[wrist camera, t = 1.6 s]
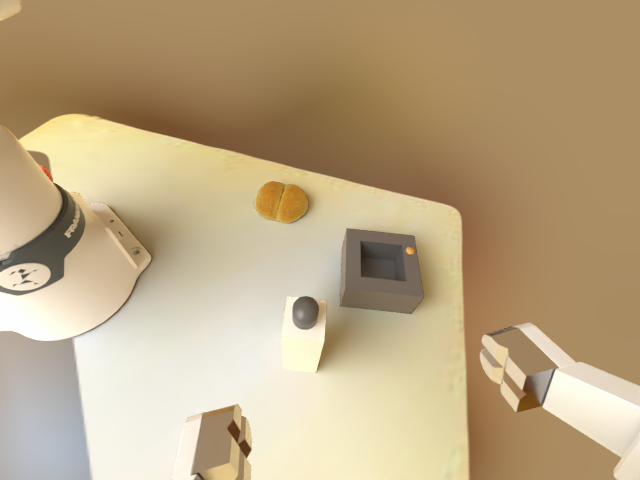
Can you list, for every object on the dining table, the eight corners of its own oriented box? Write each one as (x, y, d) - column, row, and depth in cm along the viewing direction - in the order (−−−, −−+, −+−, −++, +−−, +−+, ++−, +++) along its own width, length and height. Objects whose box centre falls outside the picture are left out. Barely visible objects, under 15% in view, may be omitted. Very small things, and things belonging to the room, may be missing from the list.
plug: (282, 369, 36) (280, 327, 26) (287, 336, 38) (286, 286, 28) (316, 372, 36) (326, 332, 26) (318, 339, 38) (329, 291, 28)
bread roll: (302, 229, 50) (302, 212, 46) (250, 218, 50) (247, 201, 47) (312, 195, 55) (313, 178, 52) (265, 186, 55) (263, 169, 52)
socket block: (339, 306, 41) (345, 287, 37) (341, 248, 48) (346, 227, 43) (411, 313, 41) (424, 295, 37) (404, 255, 48) (414, 234, 44)
